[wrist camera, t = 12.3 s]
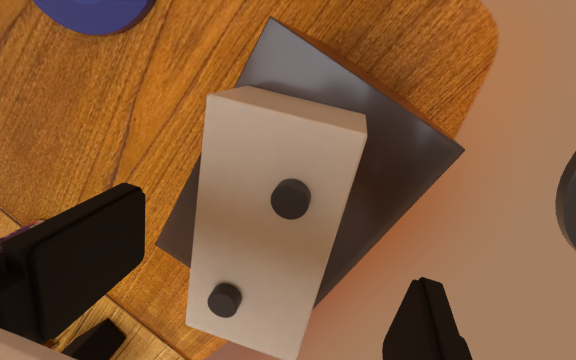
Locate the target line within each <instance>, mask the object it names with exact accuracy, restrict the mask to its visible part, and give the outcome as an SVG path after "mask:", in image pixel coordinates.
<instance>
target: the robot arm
mask: <svg viewBox="0 0 576 360" xmlns="http://www.w3.org/2000/svg"><path fill="white" fill-rule="evenodd" d="M1 245H2V250H3V251H2V252H0V360H76V359H74V358H72V357H69V356H67V355H64V354H62V353H60V352H57V351H55V350H52V349H50V348H47V347H45V346H43V344H44V343H46V342H47V341H48V340H49V339H54V338H56V337H57V336H58V335H60V334H61V333H62V332H63V331H64V330H65V329H67V328H68V327H69V326H70V325H71V324H72V323H73V322H74V321H76V320H77V319H78V318H79V317H80V316H81V315H82V314H84V313H85V312H86V311H87V310H88V309H89V308H90V307H91V306H93V305H94V304H95V303H96V302H97V301H98V300H99V299H100V298H102V297H103V296H104V295H105V294H106V293H107V292H108V291H110V290H111V289H112V288H113V287H114V286H115V285H116V284H117V283H119V282H120V281H121V280H122V279H123V278H124V277H125V276H127V275H128V274H129V273H130V272H131V271H132V270H133V269H134V268H136V267H137V266H138V265H139V264H140V263H141V261H142V260H143V258H144V254H145V194H144V193H143V192H142V189H141V188H140V187H137V186H134V185H131V184H128V183H121V184H119V185H117V186H115V187H113V188H111V189H109V190H107V191H105V192H103V193H101V194H99V195H97V196H95V197H93V198H91V199H89V200H87V201H85V202H83V203H81V204H78V205H76V206H74V207H72V208H70V209H68V210H66V211H64V212H62V213H60V214H58V215H56V216H54V217H52V218H50V219H48V220H46V221H44V222H42V223H40V224H38V225H36V226H34V227H32V228H30V229H28V230H26V231H24V232H22V233H20V234H18V235H15V236H13V237H11V238H9V239H7V240H5V241H3V242H1ZM382 353H383V360H472V357H471V354H470V351H469V348H468V346H467V343H466V341H465V339H464V338H462V337H461V336H460V335H459V332H458V329H457V326H456V323H455V320H454V317H453V314H452V311H451V308H450V305H449V302H448V299H447V296H446V294H445V290H444V287H443V285H442V283H440V282H436V281H433V280H430V279H427V278H424V277H421V278H420V279H419V280H413V281H412V282H411V284H410V286H409V288H408V290H407V293H406V295H405V297H404V299H403V301H402V303H401V305H400V307H399V309H398V312H397V314H396V316H395V318H394V320H393V322H392V324H391V326H390V328H389V331H388V333H387V335H386V337H385V339H384V342H383V350H382Z"/></svg>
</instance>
